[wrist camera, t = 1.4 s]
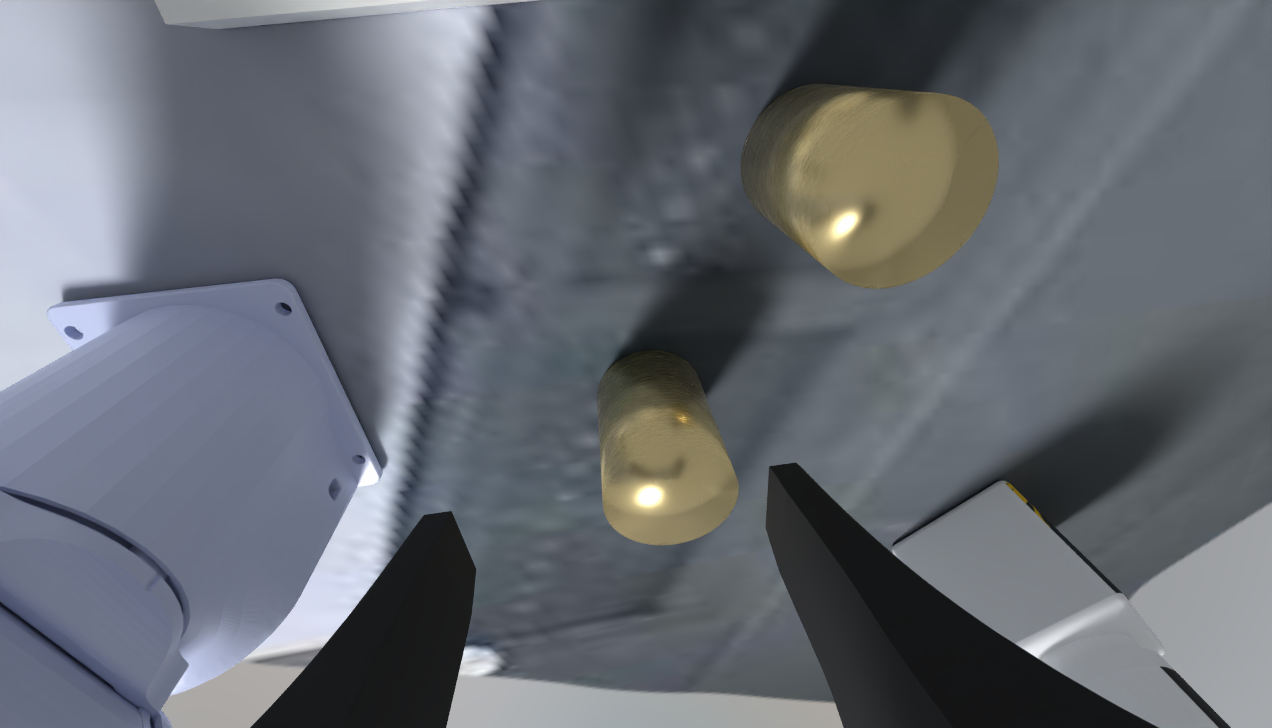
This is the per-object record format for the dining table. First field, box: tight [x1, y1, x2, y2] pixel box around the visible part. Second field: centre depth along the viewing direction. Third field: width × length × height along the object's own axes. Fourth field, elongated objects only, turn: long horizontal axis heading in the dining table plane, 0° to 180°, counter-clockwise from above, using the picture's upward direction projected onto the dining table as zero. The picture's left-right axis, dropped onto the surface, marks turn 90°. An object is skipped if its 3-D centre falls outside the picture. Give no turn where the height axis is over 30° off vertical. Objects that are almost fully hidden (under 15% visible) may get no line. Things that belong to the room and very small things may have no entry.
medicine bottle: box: [892, 481, 1230, 728], centre depth 24 cm, size 7×7×12 cm
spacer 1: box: [597, 350, 739, 545], centre depth 19 cm, size 4×4×6 cm
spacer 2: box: [741, 84, 999, 289], centre depth 14 cm, size 4×4×6 cm
